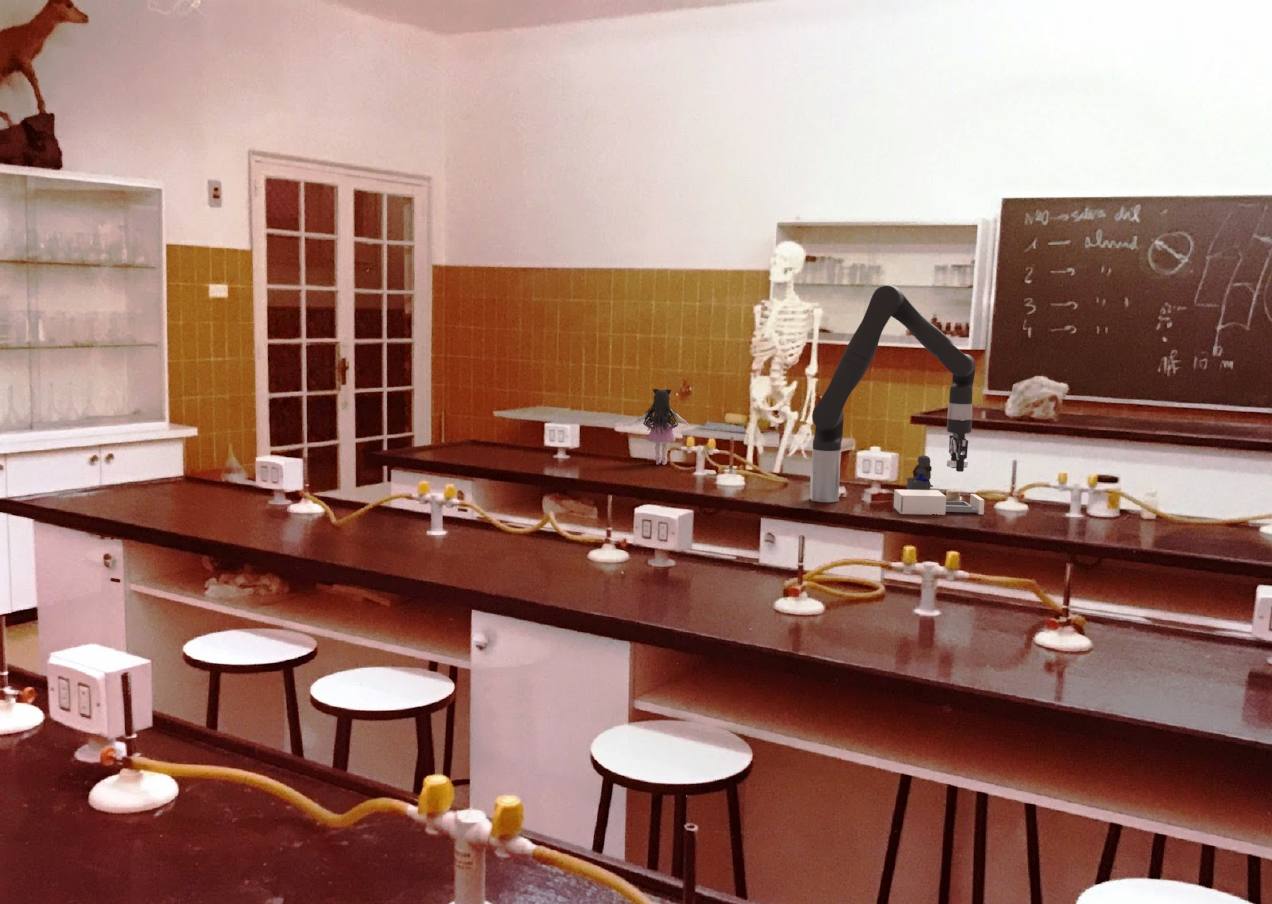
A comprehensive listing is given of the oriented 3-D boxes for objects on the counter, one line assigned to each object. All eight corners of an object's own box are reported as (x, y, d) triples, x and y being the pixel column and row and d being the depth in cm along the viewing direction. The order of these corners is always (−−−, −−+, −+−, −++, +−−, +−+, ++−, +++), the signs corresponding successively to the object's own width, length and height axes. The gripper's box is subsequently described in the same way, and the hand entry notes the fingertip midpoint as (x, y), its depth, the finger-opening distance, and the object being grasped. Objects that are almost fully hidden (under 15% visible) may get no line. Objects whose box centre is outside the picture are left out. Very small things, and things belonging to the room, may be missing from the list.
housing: (900, 513, 359) (901, 495, 358) (893, 507, 370) (894, 489, 369) (945, 514, 359) (946, 496, 358) (937, 508, 370) (937, 490, 369)
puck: (949, 467, 359) (949, 462, 359) (944, 464, 365) (944, 459, 365) (970, 467, 359) (970, 462, 359) (964, 464, 365) (964, 459, 365)
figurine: (690, 463, 456) (692, 389, 452) (686, 467, 446) (687, 391, 442) (636, 461, 461) (637, 387, 457) (630, 464, 451) (631, 389, 447)
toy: (906, 495, 392) (908, 452, 390) (934, 498, 388) (937, 454, 386) (898, 500, 383) (901, 456, 381) (927, 503, 379) (930, 458, 377)
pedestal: (947, 507, 371) (948, 492, 371) (944, 504, 376) (944, 489, 375) (961, 507, 371) (961, 492, 371) (957, 505, 376) (958, 490, 375)
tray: (932, 513, 359) (933, 499, 358) (924, 507, 369) (925, 493, 369) (983, 514, 359) (984, 500, 358) (974, 508, 369) (975, 494, 368)
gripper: (942, 414, 367) (939, 466, 369) (953, 419, 353) (950, 473, 355) (965, 415, 367) (963, 466, 369) (977, 420, 353) (974, 473, 355)
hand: (957, 469), depth 362 cm, fingers closed on puck, 6 cm apart
